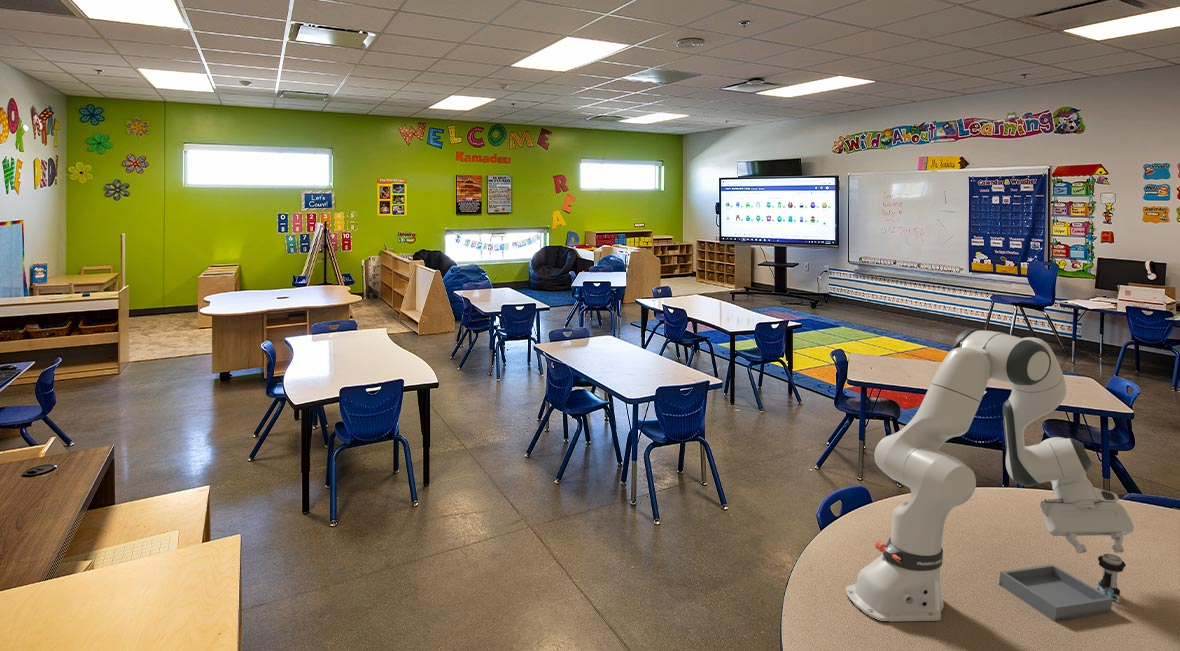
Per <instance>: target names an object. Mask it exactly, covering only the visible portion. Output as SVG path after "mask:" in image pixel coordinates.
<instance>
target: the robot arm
mask: <svg viewBox="0 0 1180 651" xmlns="http://www.w3.org/2000/svg"><path fill="white" fill-rule="evenodd" d="M990 379H993V380H996V381H1000V382H1006V383H1010V385H1011V392H1010V395H1009V397H1008V399H1006V400H1005V401H1004V402H1003V405H1002V422H1003V434H1004V443H1005V444H1004V445H1005V468H1006V471H1007V473H1008V474H1007V475H1008V476H1009V478H1011V480H1012V482H1014V483H1016V484H1018V485H1021V486H1024V487H1026V488H1029V487H1033V486H1036V485H1040V484H1041V483H1042V484H1043V483H1047V482H1050V483H1051V485H1052V491H1053V494H1054V496H1055V498H1053V499H1049V498H1045V499H1043V500H1042V501H1041V502H1040V503H1039V507H1040V509H1041V512H1042V514H1043V517H1044V518H1043V519H1044V523H1045V526H1046V529H1047V531H1048V533H1049V534H1050V535H1051V536H1052V537H1065V539H1066V541H1067V542H1068V543H1070V544H1071V545H1072V546H1073V547H1074V549H1075V552H1076V554H1085V553H1087V551H1088V550H1087V548H1086V545H1085V544H1084V543H1083V544H1081V543H1080V541H1078V539H1077V537H1080V536H1081V537H1082V536H1083V537H1084V536H1085V537H1087V536H1090V537H1091V536H1110V537H1111V539H1112V540H1114V544H1113V545H1111V548H1112V550H1113V553H1115V554H1117V553H1118V554H1120V553H1124V552H1125V549H1124V547H1123V541H1124V540H1123V539H1124V536H1127V535H1128V534H1130V533H1133V532H1134V528H1135V526H1134V523H1133V521H1132V519H1131V517H1130V515H1129V513H1128V511H1127V509H1125V508H1124V506H1123V505H1122V504H1121V503H1120V502H1119V496H1118V494H1116V493H1115V492H1112V491H1107V490H1104V489H1101V488H1099V487H1095V486H1093V484H1092V482H1091V481H1090V480H1089V479H1088V477H1087V475H1086V474H1088V473H1089V472H1090V469H1091V468H1092V467H1093V462H1092V460H1091V458H1090V456H1089V455H1088V453H1087V451H1086V449H1085V444H1084V443H1082V442H1080V441H1079V440H1076V439H1074V438H1071V437H1069V438H1067V437H1066V438H1065V437H1060V436H1054V437H1049V438H1046V439H1044V440H1042V441H1041V442H1040V443H1037V444H1033V445H1028V446H1026V445H1025V435H1024V434H1025V429H1026V428H1028V426H1030V424H1032V422H1034V421H1037V420H1038V419H1040V418H1042V417H1044V416H1046V415H1048V414H1050V413H1051V412H1054V411H1055V410H1056V409H1057V408H1058V407H1059V406H1060V405H1062V403H1063V402H1064V400H1065V398H1066V396H1067V385H1066V381H1065V378H1064V374H1063V370H1062V368H1061V365H1060V362H1059V361H1058V359H1057V356H1056V355H1055V353H1054V351H1053V349H1052V348H1051V346H1050V345H1049V344H1048V343H1047V342H1046V341H1045V340H1043V339H1041V338H1038V337H1032V336H1027V337H1026V336H1025V337H1023V338H1022V337H1018V336H1015V335H1010V334H1009V333H1006V332H1001V331H993V330H985V329H982V328H970V329H969V328H968V329H965V330H962V331H961V332H960V333H959V334H958V335H957V336H956V338H954V341H953V343H952V346H951V350H950V351H949V352H948V353H947V354H946V356H945V357H944V359H943V360H942V362H941V363H940V365H939V366H938V368H937V370H936V372H935V374H934V376H933V378H932V380H931V382H930V384H929V387H928V389H927V391H926V393H925V395H924V397H923V400H922V402H921V403H920V406H919V408H918V409H917V412H916V413H915V414H914V416H913V417H912V418H911V419H910V420H909V421H908V423H907V424H906V425H905V426H903V427H902V428H901V429H900V430H898V431H897V432H894V433H892V434H889V435H887V436H884V437H882V438H881V439H880V441H878V442H877V445H876V447H875V449H874V453H873V455H874V462H875V464H876V466H877V467H878V468H879V469H880V470H881V471H882V473H884V474H886V475H887V476H888V477H889V478H891V480H894V481H895V482H898V483H900V484H901V485H904V486H905V487H907V488H908V489H910V490H909V491H910V497H909V500H908V501H906V502H901V503H900V504H898V505H897V506H895V508H894V510H893V511H892V519H891V531H890V537H889V539H888V541H887V542H886V544H885V543H884V542H882V541H880V540H877V541H876V542H875V544H874V548H875V549H876V550H878V551H879V552H881V553H882V554H881V555H880V556H878V557H877V558H875V559H874V560H873V561H872V562H870V563H869V564H868V565H865V567H863V568H862V569H861V570H859V572H858V575H857V578H856V582H855V583H854V584H850V585H847V586H846V587H845V589H846V593H847V595H848V597H849V598H850V599H851V600H852V601H853V602H854V603H855V604H856V606H858V607H859V608H860V609H861V610H862V611H864V612H865V613H866V614H868V615H869V616H871V617H873V618H875V619H877V620H881V621H889V622H926V621H927V622H928V621H929V622H930V621H932V622H936V621H937V622H938V621H941V620H942V613H941V612H942V611H943V609H944V606H945V603H944V599H943V595H942V586H941V567H942V566H943V556H944V549H943V547H942V545H943V537H944V536H943V535H944V530H945V524H946V520H947V517H948V515H949V514H950V512H951V511H952V510H953V509H954V508H957V507H958V506H962V505H963V504H965V503H967V502H968V501H969V500H970V499H971V498H972V497H973V495H974V494H975V491H976V486H977V478H976V475H975V472H974V471H973V469H971V468H970V467H969V466H967V464H965V463H964V462H962V461H961V460H959V459H958V458H957V457H955V456H952V455H951V454H948V453H946V452H944V451H942V450H940V448H941V447H942V445H943V444H944V443H946V442H947V441H948V440H950V439H952V438H955V437H961V436H964V435H965V434H966V433H967V432H968V431H969V429H970V427H971V425H972V422H973V420H974V418H975V417H976V414H977V411H978V409H979V406H980V404H981V402H982V400H983V397H984V396H985V391H986V389H987V386H988V382H989V380H990ZM846 593H845V594H846ZM850 593H852V594H850ZM848 597H847V598H848ZM856 606H855V607H856ZM870 612H872V613H870ZM866 614H865V615H866ZM869 616H868V617H869ZM871 617H870V618H871ZM873 618H872V619H873ZM875 619H874V620H875ZM877 620H876V621H877ZM881 621H880V622H881Z"/></svg>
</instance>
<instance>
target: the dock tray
mask: <svg viewBox="0 0 1180 651" xmlns="http://www.w3.org/2000/svg"><path fill="white" fill-rule="evenodd" d="M998 585H999V586H1000V587H1002V588H1004V589H1005V590H1007V592H1010V593H1011V594H1013V595H1014V596H1016V597H1017V598H1019V600H1021V601H1023V602H1025V603H1026V604H1028V605H1029V606H1030V607H1032V608H1033V609H1035V610H1036V611H1038V612H1040V613H1041V614H1042V615H1044V616H1046V617H1047V618H1048V619H1050V620H1052V621H1053V622H1061V621H1067V620H1072V619H1079V618H1086V617H1092V616H1097V615H1098V616H1099V615H1103V614H1110V613H1112V607H1113V601H1114V600H1113V599H1112V598H1110V597H1109V596H1107V595H1105V594H1103V593H1102V592H1100V591H1098V590H1097V588H1095V587H1093V586H1091V585H1089V584H1087V583H1086V582H1084V581H1083V580H1080V578H1077V577H1075V576H1074V575H1072V574H1070V572H1069V573H1068V572H1067V571H1065V570H1063V569H1062V568H1060V567H1058V566H1056V565H1055V564H1047V565H1046V564H1045V565H1039V566H1033V567H1025V568H1017V569H1009V570H1003V571H1000V573H999V579H998Z"/></svg>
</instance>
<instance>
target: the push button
mask: <svg viewBox="0 0 1180 651" xmlns="http://www.w3.org/2000/svg"><path fill="white" fill-rule="evenodd" d="M1097 560H1098V566H1100V568H1102V574H1101V578H1100V580H1097V586H1096V590H1098V591H1100V592H1102V593H1103V594H1105V595H1107V596H1109V597H1110V598H1112V599H1113V601H1115V602H1116V603H1121V599H1122V597H1121V589H1119V588H1118V587H1117V585H1118V582H1117V580H1118V574H1119V573H1120V572H1123V571H1124V569H1125V568H1126V565H1127V564H1126V563H1125V561H1123V560H1122V558H1121V557H1120V556H1118V555H1115V554H1111V553H1103V555H1100V556H1098V557H1097Z"/></svg>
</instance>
